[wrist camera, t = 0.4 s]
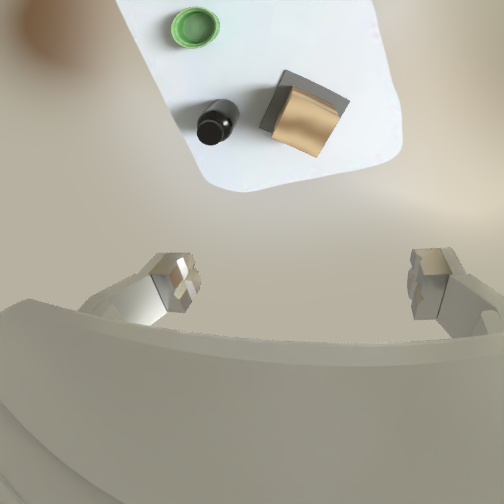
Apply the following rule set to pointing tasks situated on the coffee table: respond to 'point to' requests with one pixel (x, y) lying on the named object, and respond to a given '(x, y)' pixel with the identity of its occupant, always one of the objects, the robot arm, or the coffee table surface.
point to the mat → (303, 84)
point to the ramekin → (194, 27)
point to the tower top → (305, 124)
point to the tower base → (307, 96)
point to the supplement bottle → (217, 122)
